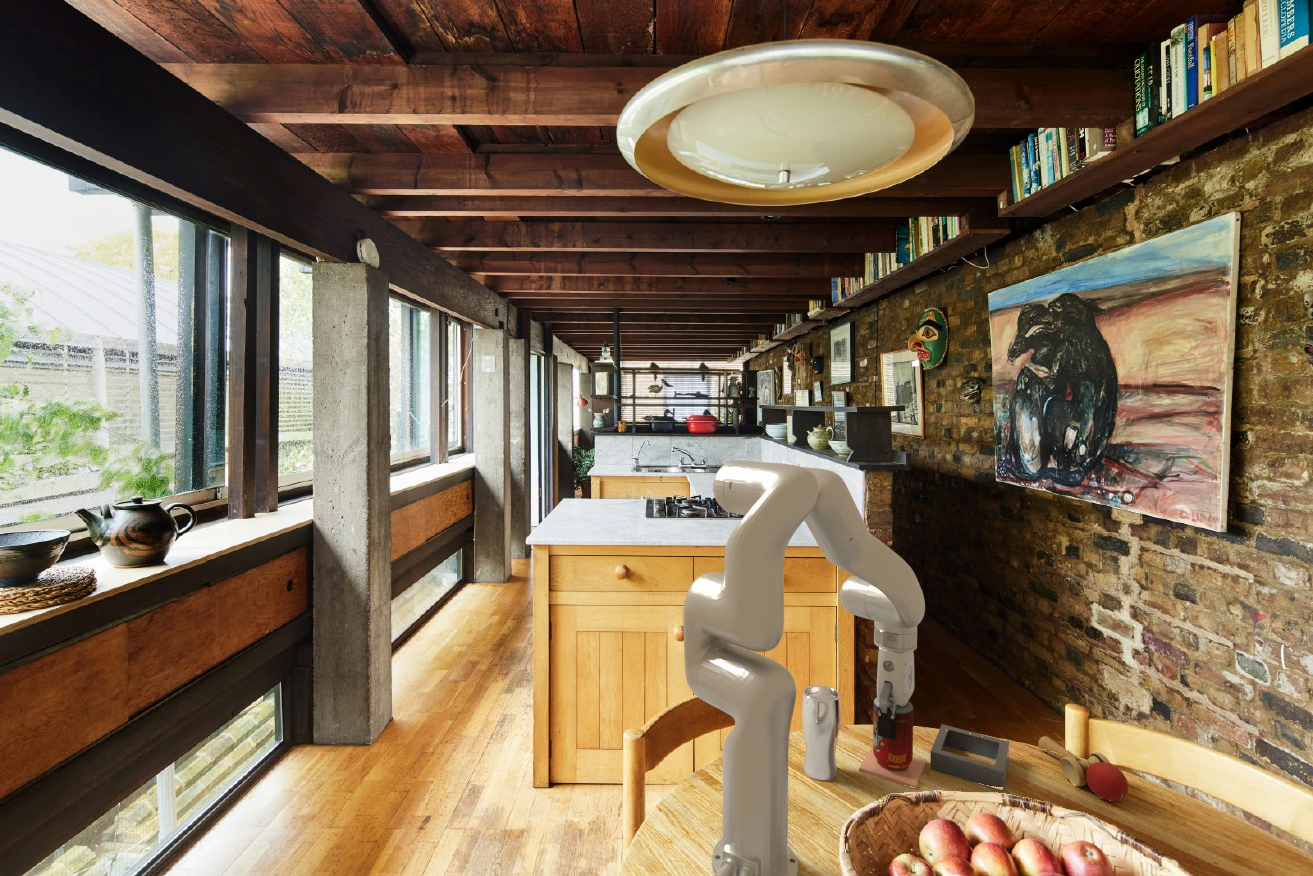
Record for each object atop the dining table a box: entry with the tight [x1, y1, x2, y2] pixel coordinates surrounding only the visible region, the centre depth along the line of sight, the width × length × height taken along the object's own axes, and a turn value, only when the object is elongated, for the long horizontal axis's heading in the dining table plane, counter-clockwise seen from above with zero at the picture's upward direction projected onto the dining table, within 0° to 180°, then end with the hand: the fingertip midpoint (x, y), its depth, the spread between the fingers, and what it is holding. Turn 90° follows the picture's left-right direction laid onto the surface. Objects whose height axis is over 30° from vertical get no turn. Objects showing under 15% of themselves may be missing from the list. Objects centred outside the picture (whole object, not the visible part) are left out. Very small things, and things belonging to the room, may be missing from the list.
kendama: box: [1037, 735, 1129, 802], centre depth 113 cm, size 8×6×18 cm
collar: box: [929, 723, 1010, 788], centre depth 117 cm, size 12×12×4 cm
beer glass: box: [801, 684, 842, 782], centre depth 115 cm, size 7×7×15 cm
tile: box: [858, 744, 928, 787], centre depth 117 cm, size 10×10×1 cm
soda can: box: [872, 697, 914, 772], centre depth 116 cm, size 7×7×12 cm
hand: (893, 726), depth 116 cm, fingers open, 9 cm apart
